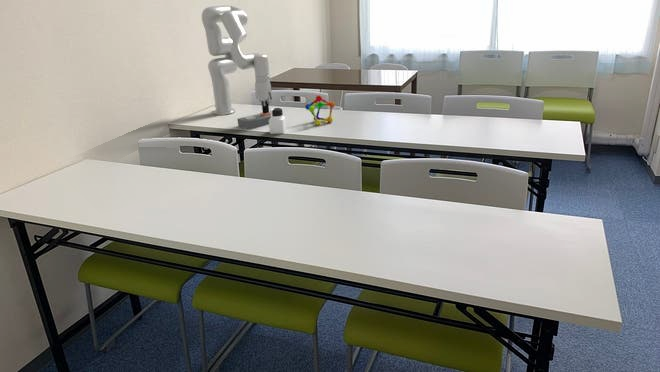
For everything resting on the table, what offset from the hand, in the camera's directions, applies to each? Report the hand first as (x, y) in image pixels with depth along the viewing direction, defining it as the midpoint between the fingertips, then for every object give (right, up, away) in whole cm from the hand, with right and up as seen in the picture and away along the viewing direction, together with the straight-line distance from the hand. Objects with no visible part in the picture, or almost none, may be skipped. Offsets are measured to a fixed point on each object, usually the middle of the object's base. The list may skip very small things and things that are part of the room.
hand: (265, 112), depth 264 cm
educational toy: (+29, -6, -4) cm, 30 cm away
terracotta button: (0, -4, +2) cm, 4 cm away
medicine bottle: (+8, -13, -17) cm, 23 cm away
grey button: (-7, -7, -4) cm, 11 cm away
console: (-4, -6, -1) cm, 7 cm away
